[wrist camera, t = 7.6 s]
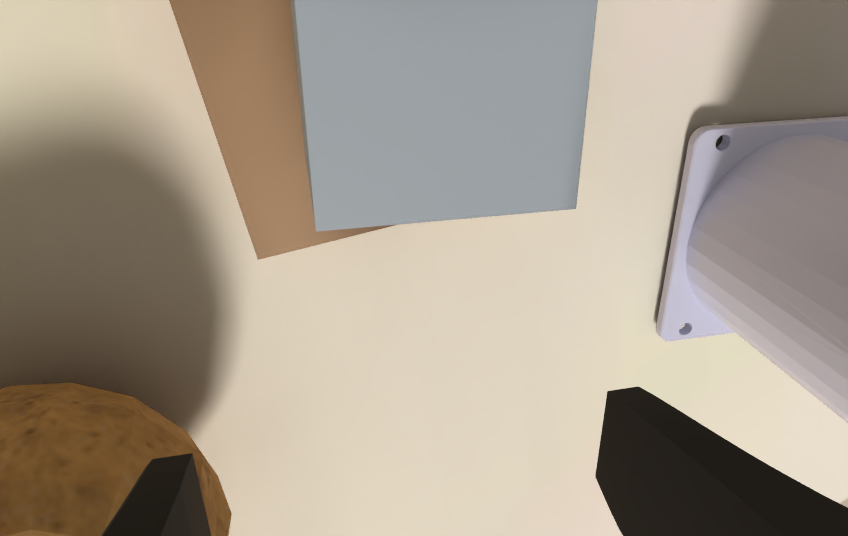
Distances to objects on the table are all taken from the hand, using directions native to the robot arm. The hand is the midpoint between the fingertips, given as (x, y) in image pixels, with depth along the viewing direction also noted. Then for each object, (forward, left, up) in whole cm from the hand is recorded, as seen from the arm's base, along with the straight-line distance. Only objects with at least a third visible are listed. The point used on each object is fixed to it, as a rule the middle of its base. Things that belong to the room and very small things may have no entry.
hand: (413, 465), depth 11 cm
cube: (-1, -6, -7) cm, 10 cm away
